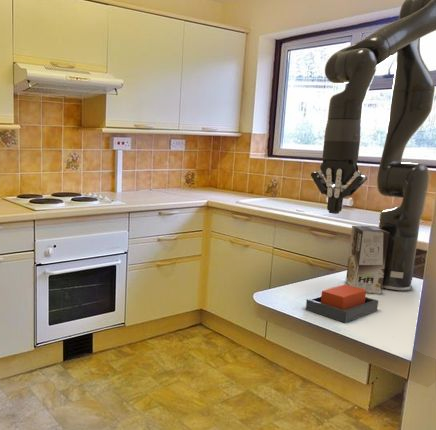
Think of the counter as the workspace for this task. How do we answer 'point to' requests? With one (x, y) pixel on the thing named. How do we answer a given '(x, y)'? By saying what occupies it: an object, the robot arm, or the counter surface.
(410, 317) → the counter surface
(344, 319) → the tray
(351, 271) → the coffee box
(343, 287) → the orange-red rectangular block
